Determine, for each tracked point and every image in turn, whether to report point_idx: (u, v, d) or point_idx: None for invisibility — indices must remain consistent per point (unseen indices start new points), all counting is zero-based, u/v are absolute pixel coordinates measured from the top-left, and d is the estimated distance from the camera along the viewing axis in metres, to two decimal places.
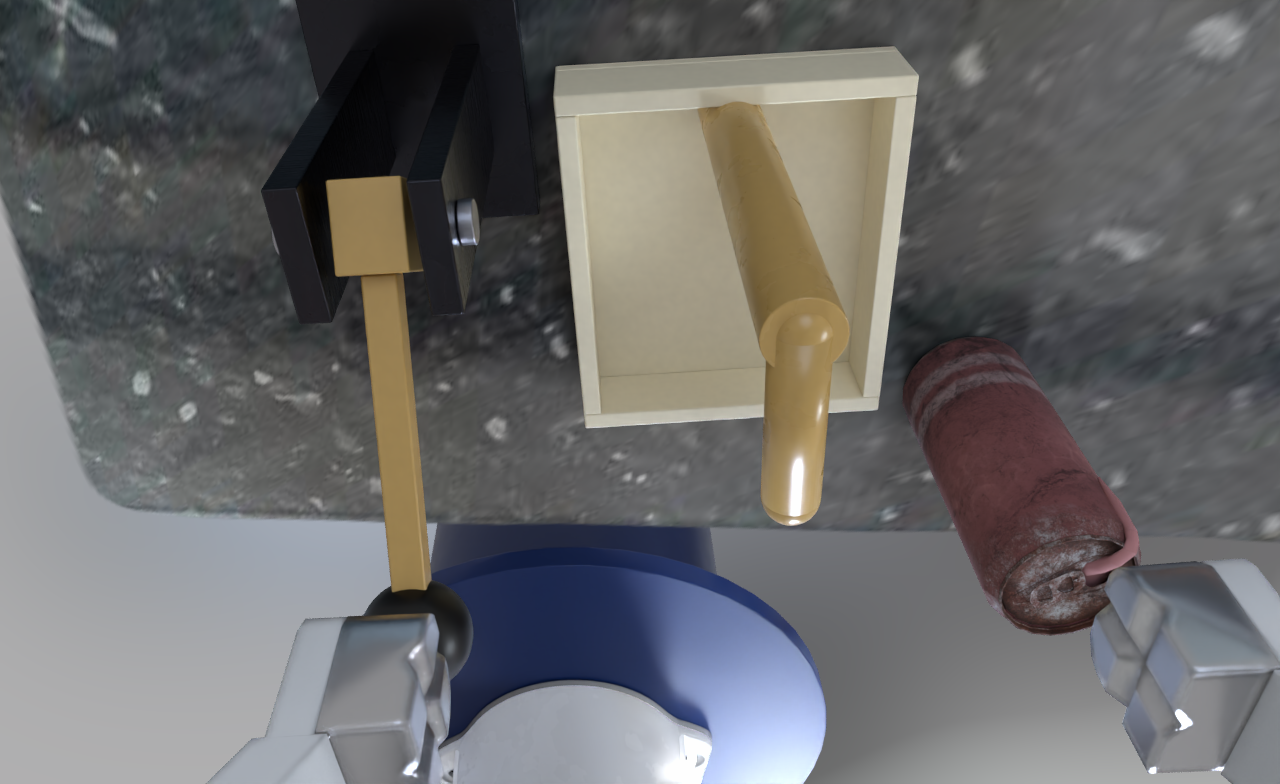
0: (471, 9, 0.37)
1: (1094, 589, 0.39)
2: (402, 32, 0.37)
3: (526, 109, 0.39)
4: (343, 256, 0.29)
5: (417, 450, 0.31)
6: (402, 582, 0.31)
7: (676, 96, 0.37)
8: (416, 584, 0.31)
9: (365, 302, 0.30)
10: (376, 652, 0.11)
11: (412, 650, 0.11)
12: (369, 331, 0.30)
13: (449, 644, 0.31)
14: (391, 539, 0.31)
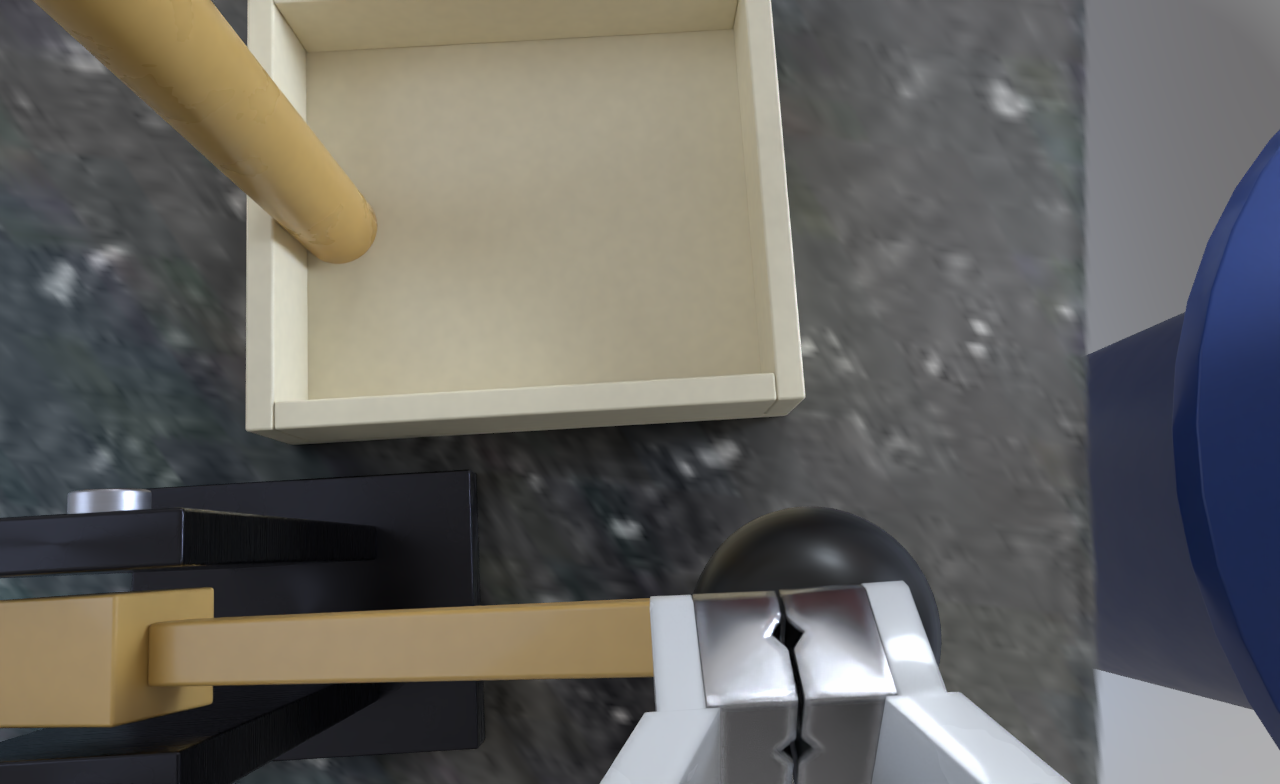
0: None
1: None
2: None
3: (318, 479, 0.29)
4: (84, 708, 0.17)
5: (445, 608, 0.16)
6: None
7: (255, 271, 0.28)
8: None
9: (183, 681, 0.17)
10: (739, 628, 0.11)
11: (772, 626, 0.11)
12: (224, 678, 0.17)
13: (781, 543, 0.13)
14: (583, 667, 0.15)
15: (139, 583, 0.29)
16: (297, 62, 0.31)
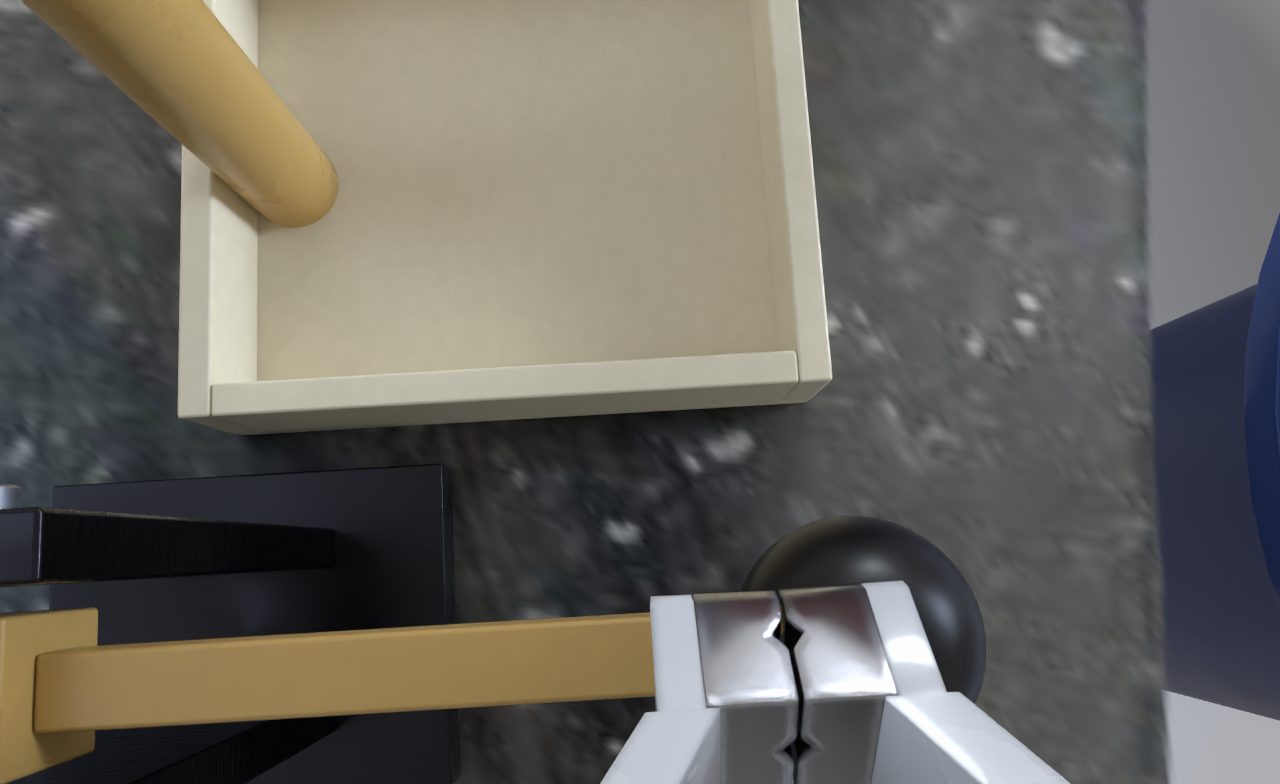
0: None
1: None
2: None
3: (267, 474, 0.25)
4: None
5: (440, 626, 0.14)
6: None
7: (190, 232, 0.24)
8: None
9: (90, 725, 0.14)
10: (739, 628, 0.11)
11: (772, 626, 0.11)
12: (153, 718, 0.14)
13: (857, 552, 0.13)
14: (623, 685, 0.14)
15: (58, 595, 0.25)
16: None
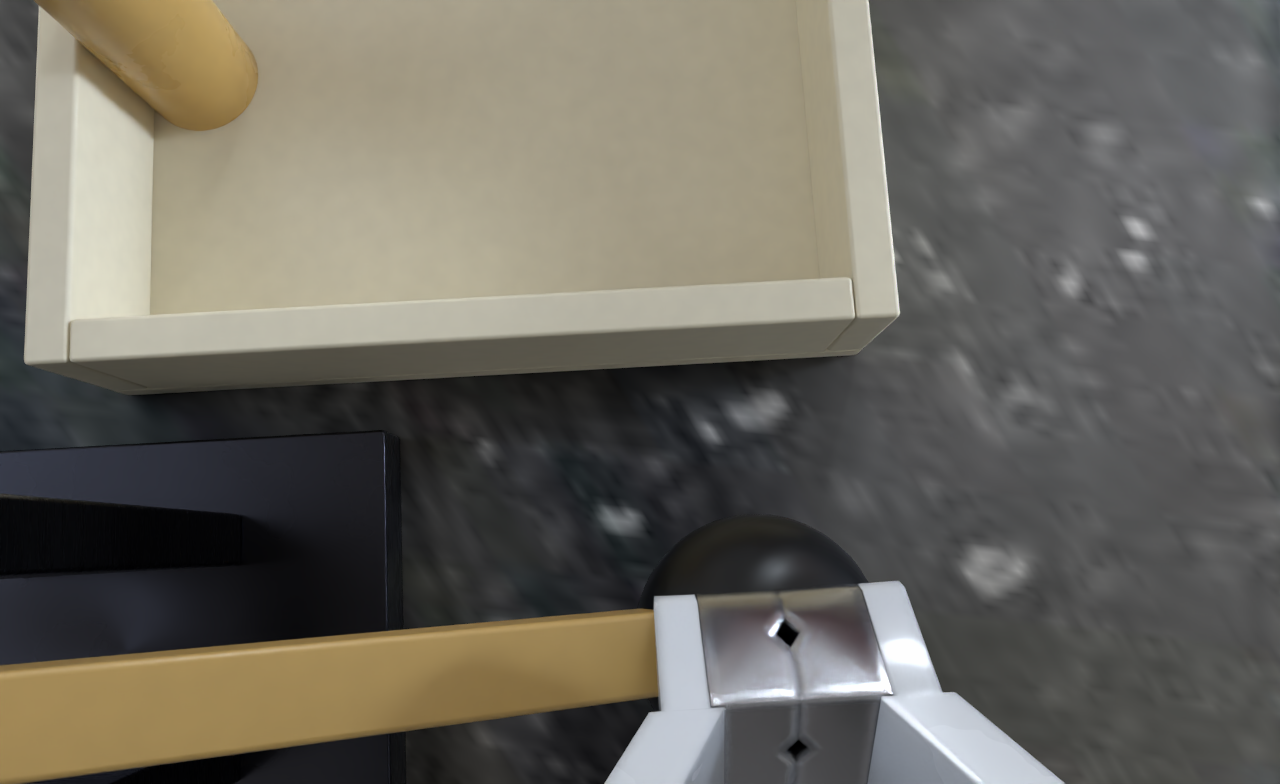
0: None
1: None
2: None
3: (157, 444, 0.20)
4: None
5: (326, 637, 0.12)
6: (656, 667, 0.13)
7: (47, 120, 0.18)
8: None
9: None
10: (743, 628, 0.11)
11: (776, 626, 0.11)
12: None
13: (795, 547, 0.13)
14: (557, 697, 0.12)
15: None
16: None
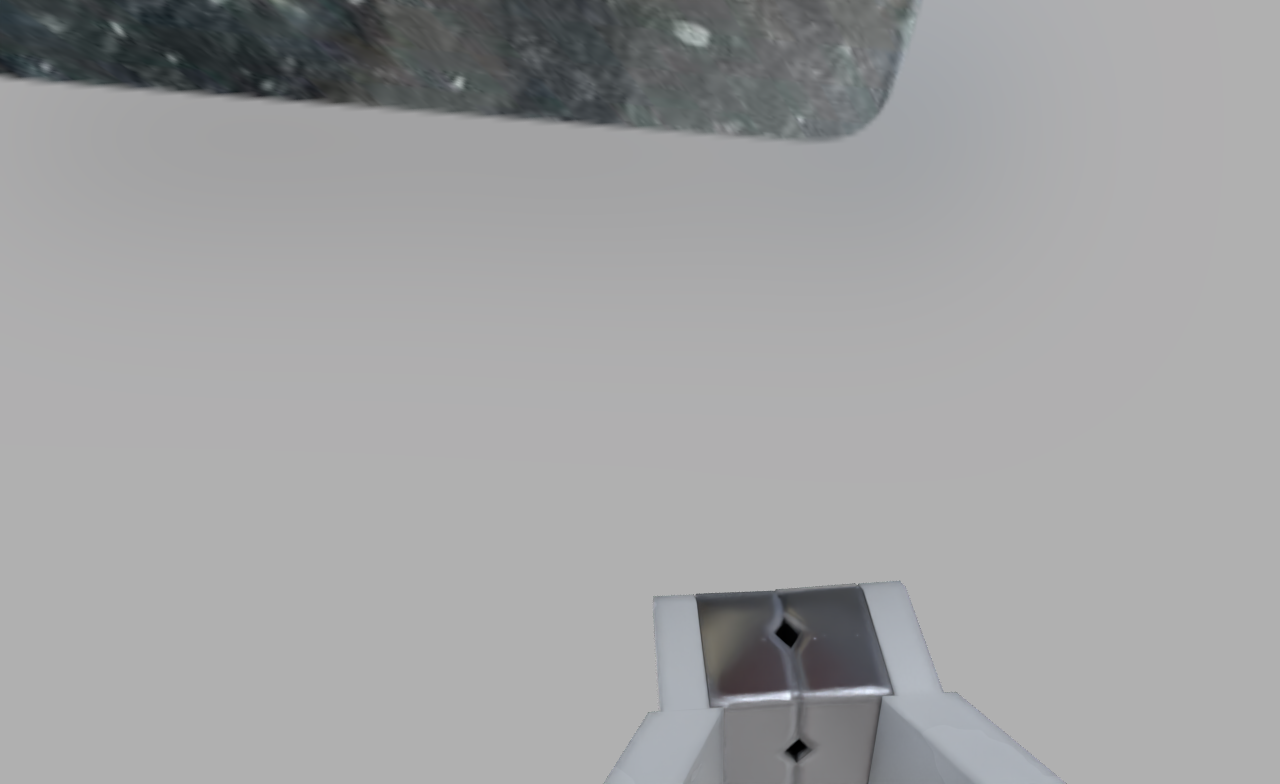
0: None
1: None
2: None
3: None
4: None
5: None
6: None
7: None
8: None
9: None
10: (742, 628, 0.11)
11: (775, 626, 0.11)
12: None
13: None
14: None
15: None
16: None
